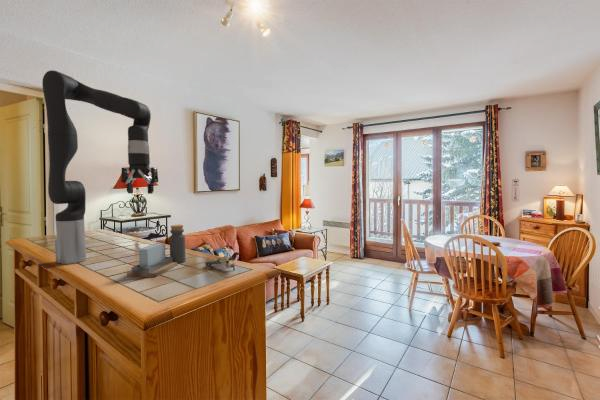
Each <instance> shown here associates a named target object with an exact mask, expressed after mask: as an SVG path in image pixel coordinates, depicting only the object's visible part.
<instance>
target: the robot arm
mask: <svg viewBox="0 0 600 400" xmlns="http://www.w3.org/2000/svg"><path fill="white" fill-rule="evenodd" d="M42 91H43V97H44V103H45V109H46V120H47V121H46V122H47V142H48V144H47V145H48V156H49V158H48V159H49V160H48V161H49V170H48V171H49V172H48V186H47V187H48V188H47V189H48V191H47V192H48V197H49V199H50V201H51V202H52V204H55V205H64V204H67V206H66V208H65V209H63V210H62V211H59V212H57V213H56V214H55V229H56V238H55V239H54V251H55V253H54V254H55V263H56V262H58V264H59V263H61V264H60V265H69V264H76V263H80V262H84V261H86V260H87V248H86V246H87V245H86V230H85V229H86V228H85V213H86V198H87V197H86V193H87V192H86V188H85V186H84V184H83V183H82V182H81V181H78V180H66V173H67V168H68V165H69V164H70V162H71V161H72V159H73V158H74V157H75V155H76V153H77V151H78V149H79V145H78V132H77V131H78V130H77V129H76V126H75V124H74V122H73V121H72V119H71V117H70V115H69V113H68V110H67V106H66V100H69V101H70V100H71V101H77V102H83V103H87V104H90V105H92V106H95V107H98V108H99V109H102V110H105V111H108V112H110V113H113V114H119V115H122V116H124V117H126V118H129V119H132V120H133V123H132V125H130V126H128V128H127V136H128V137H127V139H128V141H127V159H128V160H127V162H128V165H129V166H128V167H121V174H120V175H121V176H120V177H121V180H120V181H121V183H123V184H126V192H127V194H133V193H134V184H133V183H134V181H136V180H137V179H143V180H144V181H146V183H147V184H146V186H147V195H148V194H153V193H154V190H155V189H154V184H156V183H159V173H158V168H157V167H154V166H153V167H150V163H151V161H150V145H149V133H148V132H149V128H150V123H151V116H152V115H151V111H150V108H149V106H148V105H146V104H144V103H143V102H139V101H137V100H136V99H135V100H134V99H132V98H128V97H124V96H121V95H119V94H115V93H112V92H109V91H106V90H103V89H97V88H92V87H90V86H88V85H87V84H84V83H82V82H80V81H78V80H76V79H75V78H73V77H71V76H69V75H67V74H64V73H62V72H60V71H57V70H54V69H53V70H52V69H51V70H48V71H46V72H45V73H44V74H43V77H42Z"/></svg>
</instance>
